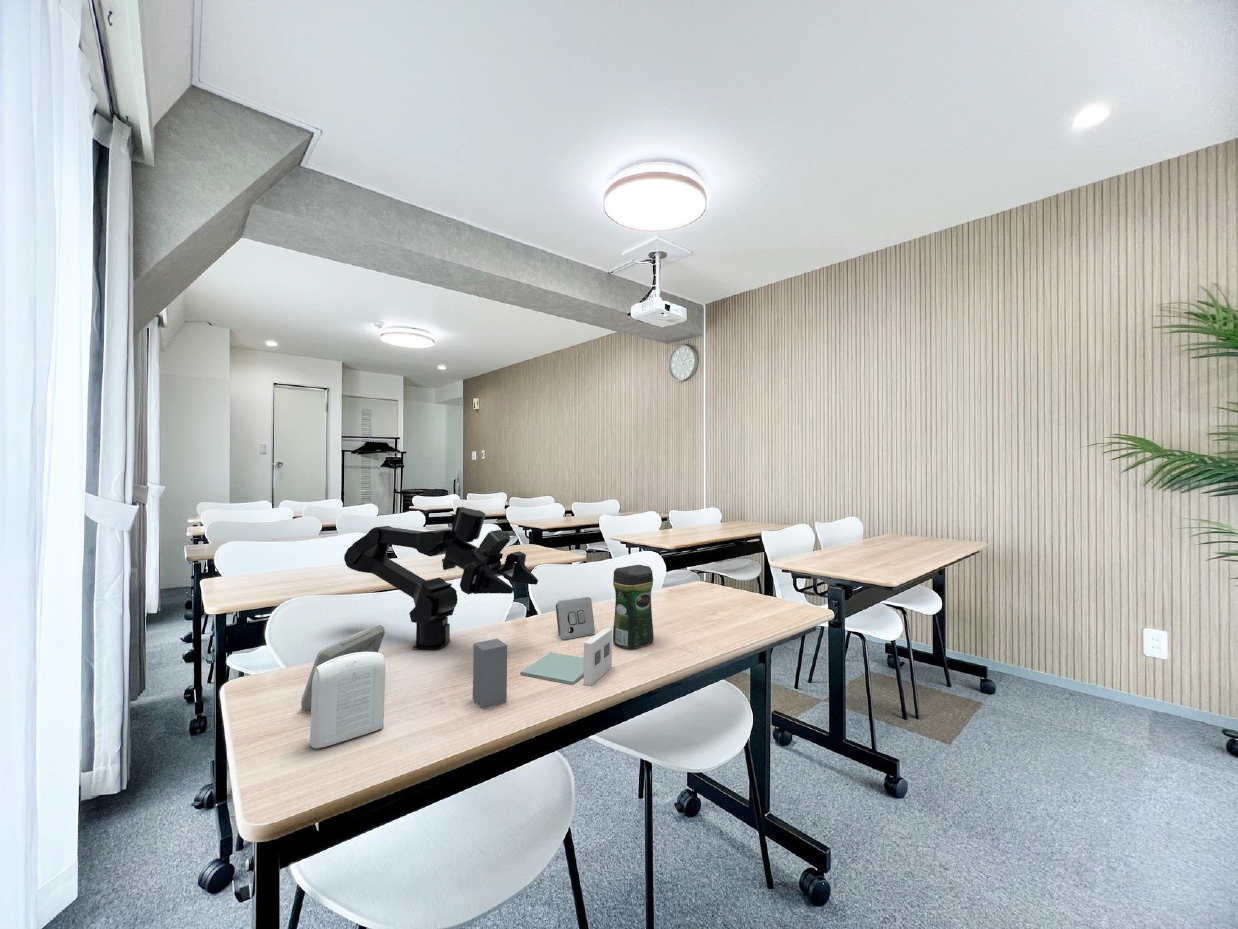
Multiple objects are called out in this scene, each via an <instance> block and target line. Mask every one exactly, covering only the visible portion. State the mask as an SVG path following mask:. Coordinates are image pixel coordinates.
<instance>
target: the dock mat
mask: <svg viewBox="0 0 1238 929" xmlns="http://www.w3.org/2000/svg"><path fill="white" fill-rule="evenodd" d="M519 674H520V675H521V676H524V677H531V678H534V679H540V680H541V679H542V680H547V681H551V682H556V683H561V684H567V685H572V686H574V685H575V684H576V683H578V682H579V681H580V680H581V679H582V678H584V657H581V656H577V655H576V656H574V655H571V654H570V655H569V654H565V653H564V654H563V653H557V652H552V651H551V652H548V653H547V654H546V655H544V656H543V657H541V658H539V659H538V660H536V661H535V662H533V663H532V664H530V665H529V666H526V668H525V667H524V669H522V670H521V671H520V673H519Z"/></svg>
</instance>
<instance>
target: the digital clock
mask: <svg viewBox="0 0 1238 929" xmlns="http://www.w3.org/2000/svg"><path fill="white" fill-rule="evenodd" d="M385 632H386V631H385V627H384V626H383V625H382V624H378V625H372V626H370V627H368V628H366V629H365V628H364V629H363V630H361V631H358V632H356V633H354V634H352V635H350V636H348V637H345V638H344V639H341V640H339V641H337V642H334V643H332V644H330V645H327V646H326V647H324V648H322V649H320V650H319V651H318V652H317V655H316V658H315V660H314V662H313V666H312V669H311V670H310V671H311V672H310V675H309V677H308V680H307V683H306V686H305V689H304V691H303V694H302V696H301V701H300V702H301V703H300V705H301V709H302V710H304V711H311V702H312V680H313V676H314V670H315V668H316V667H317V666H319V665H321V664H323V663H325V662H327V661H329V660H331V659H334V658H336V657H339V656H343V655H346V654H351V653H356V652H378V653H379V650H380V647H381V644H382V642H383V639H384V636H385Z"/></svg>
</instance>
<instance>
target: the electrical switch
mask: <svg viewBox="0 0 1238 929" xmlns="http://www.w3.org/2000/svg"><path fill="white" fill-rule="evenodd" d="M592 602H593V600H592V598H591V597H590V596H585V597H577V598H570V599H562V600H558V601H557V602H556V604H555V611H556V612H555V613H556V622H557V633H558V634H557V635H558V637H559V638H560V639H561V640H562V641H564V640H565V641H566V640H569V639H574V638H575V639H576V638H582V637H586V636H592V635H593V636H594V635H595V633H596V627H595V619H594V618H595V617H594V610H593V603H592Z"/></svg>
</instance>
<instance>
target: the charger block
mask: <svg viewBox="0 0 1238 929" xmlns="http://www.w3.org/2000/svg"><path fill="white" fill-rule="evenodd" d="M472 650H473V656H472V657H473V659H472V660H473V662H472V663H473V664H472V701H473V702H475V703H476V704H477V706H478V707H479V708H481V710H484V709H487V708H491V707H493V706H497V705H502V704H504V703H507V700H508V699H507V698H508V697H507V694H508V691H507V690H508V689H507V688H508V644H507V643H505V642H503V641H502V640H500V639H499V638H494V639H493V638H492V639H488V640H483V641H477V642H474V643H473V649H472Z"/></svg>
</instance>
